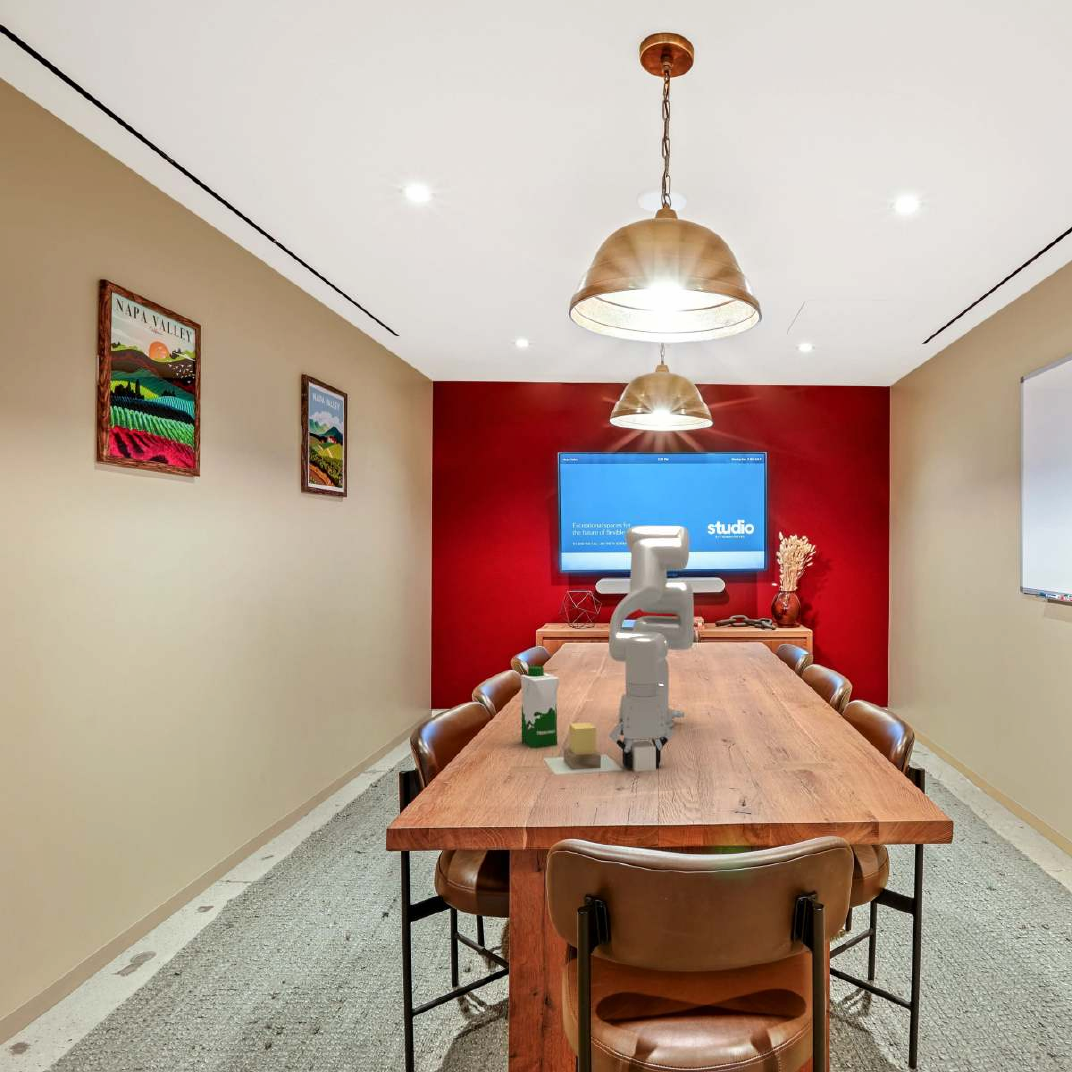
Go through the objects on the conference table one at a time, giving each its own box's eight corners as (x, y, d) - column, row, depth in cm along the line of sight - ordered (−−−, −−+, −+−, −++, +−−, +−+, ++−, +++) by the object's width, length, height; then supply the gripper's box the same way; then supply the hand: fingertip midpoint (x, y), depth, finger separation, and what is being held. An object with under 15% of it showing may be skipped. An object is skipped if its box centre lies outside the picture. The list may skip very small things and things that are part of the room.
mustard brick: (589, 747, 166) (589, 722, 166) (595, 753, 161) (595, 727, 161) (569, 748, 165) (569, 723, 165) (574, 754, 160) (575, 729, 160)
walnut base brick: (591, 758, 167) (591, 746, 167) (600, 767, 160) (600, 754, 160) (563, 760, 165) (563, 747, 165) (571, 769, 158) (571, 756, 158)
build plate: (606, 756, 170) (606, 754, 170) (622, 772, 158) (622, 769, 158) (543, 760, 167) (543, 758, 167) (555, 777, 155) (555, 774, 155)
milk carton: (546, 738, 186) (546, 664, 186) (562, 747, 178) (563, 670, 178) (516, 743, 182) (517, 667, 182) (532, 752, 174) (532, 672, 174)
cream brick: (647, 766, 163) (647, 740, 164) (655, 772, 159) (655, 746, 159) (627, 767, 162) (627, 741, 162) (635, 774, 157) (635, 748, 158)
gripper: (669, 685, 166) (669, 759, 166) (601, 687, 163) (601, 764, 162) (682, 691, 159) (682, 769, 159) (611, 694, 155) (611, 774, 155)
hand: (641, 766), depth 160 cm, fingers open, 6 cm apart
